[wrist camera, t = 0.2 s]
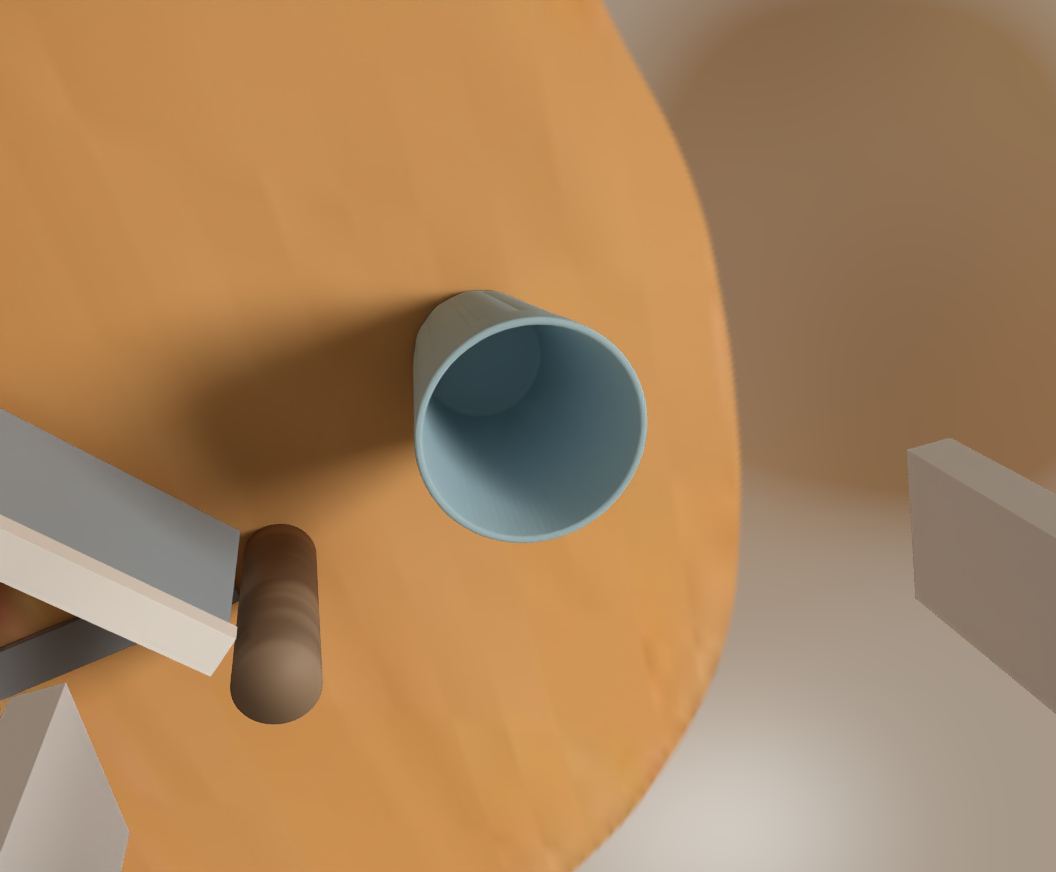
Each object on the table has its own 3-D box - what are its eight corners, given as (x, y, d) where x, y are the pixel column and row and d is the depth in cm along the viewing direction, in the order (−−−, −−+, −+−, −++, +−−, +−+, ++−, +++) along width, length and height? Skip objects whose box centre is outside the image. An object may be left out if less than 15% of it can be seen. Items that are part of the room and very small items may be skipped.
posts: (298, 513, 43) (300, 632, 33) (327, 571, 44) (336, 702, 35) (-137, 692, 41) (-261, 868, 32) (-96, 747, 42) (-204, 933, 33)
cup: (578, 425, 44) (656, 520, 34) (403, 457, 43) (433, 564, 33) (559, 251, 41) (639, 301, 32) (373, 280, 40) (396, 341, 31)
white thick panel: (247, 529, 41) (236, 638, 33) (226, 560, 42) (210, 676, 33) (-41, 381, 37) (-134, 465, 29) (-62, 417, 37) (-160, 510, 29)
